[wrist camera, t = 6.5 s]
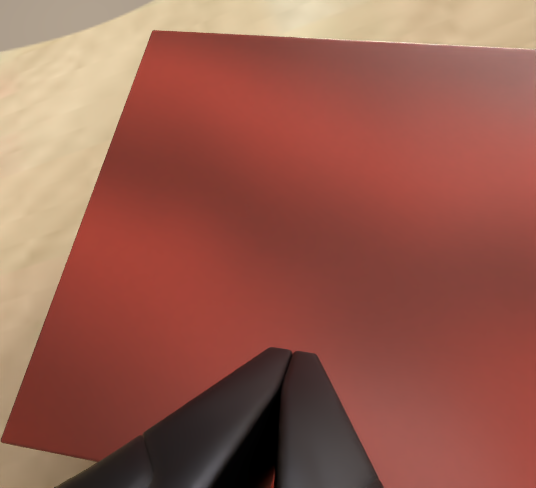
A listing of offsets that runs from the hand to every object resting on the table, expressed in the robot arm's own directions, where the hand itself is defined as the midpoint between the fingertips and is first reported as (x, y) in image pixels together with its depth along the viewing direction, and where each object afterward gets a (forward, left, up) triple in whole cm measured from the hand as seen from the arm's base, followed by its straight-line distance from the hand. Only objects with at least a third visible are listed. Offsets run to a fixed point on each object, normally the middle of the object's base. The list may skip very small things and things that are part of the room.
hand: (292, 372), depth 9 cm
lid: (+3, +3, -4) cm, 6 cm away
